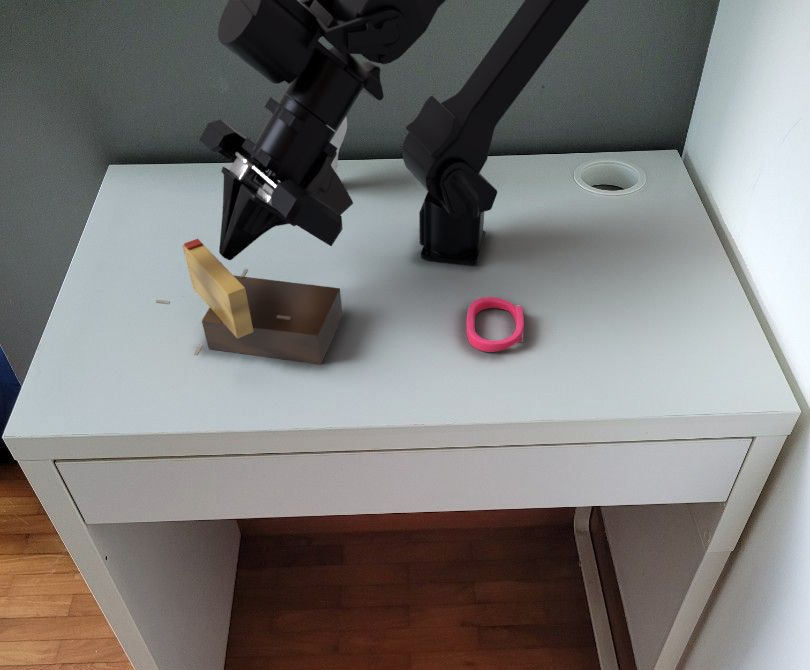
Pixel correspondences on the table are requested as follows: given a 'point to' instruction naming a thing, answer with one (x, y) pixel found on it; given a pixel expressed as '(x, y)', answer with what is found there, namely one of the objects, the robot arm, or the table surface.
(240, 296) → the tap handle
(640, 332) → the table surface
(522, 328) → the fitness band
